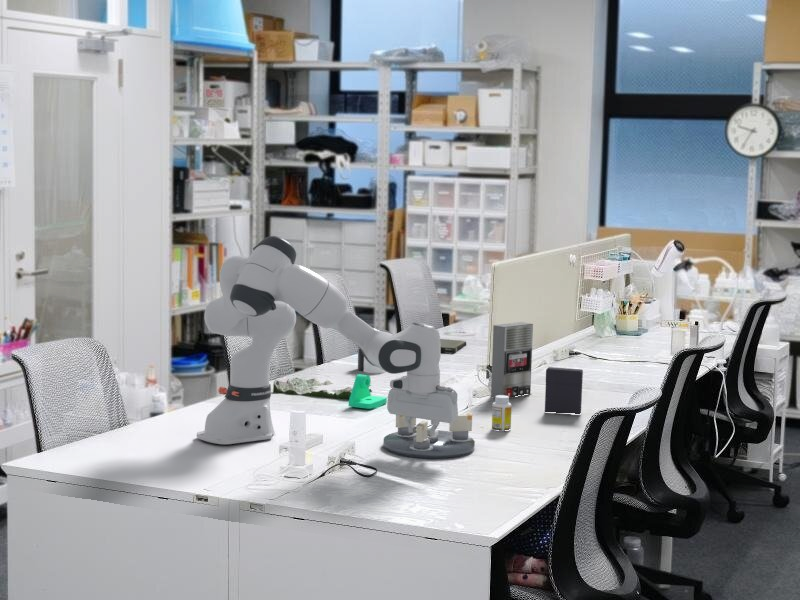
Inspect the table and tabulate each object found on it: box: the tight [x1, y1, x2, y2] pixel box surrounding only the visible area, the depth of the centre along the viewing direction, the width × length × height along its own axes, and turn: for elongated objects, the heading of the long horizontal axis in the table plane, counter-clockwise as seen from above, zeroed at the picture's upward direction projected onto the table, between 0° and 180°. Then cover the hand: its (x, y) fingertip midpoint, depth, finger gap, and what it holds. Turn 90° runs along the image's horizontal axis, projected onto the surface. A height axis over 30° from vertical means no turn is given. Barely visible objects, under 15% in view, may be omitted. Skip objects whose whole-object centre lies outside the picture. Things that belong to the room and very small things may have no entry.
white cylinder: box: [363, 357, 386, 374], centre depth 428 cm, size 9×9×12 cm
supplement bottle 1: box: [357, 347, 364, 372], centre depth 431 cm, size 7×7×12 cm
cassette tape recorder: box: [490, 321, 534, 399], centre depth 389 cm, size 14×6×25 cm, turn 131°
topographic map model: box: [272, 377, 373, 401], centre depth 402 cm, size 36×29×5 cm
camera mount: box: [348, 373, 388, 410], centre depth 373 cm, size 12×8×10 cm, turn 153°
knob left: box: [413, 420, 430, 449], centre depth 314 cm, size 6×4×6 cm
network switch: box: [440, 338, 467, 355], centre depth 478 cm, size 23×24×5 cm
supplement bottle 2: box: [491, 395, 512, 431], centre depth 345 cm, size 6×6×10 cm
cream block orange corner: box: [395, 415, 417, 435], centre depth 329 cm, size 6×4×6 cm
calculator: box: [544, 366, 584, 414], centre depth 366 cm, size 11×4×15 cm, turn 74°
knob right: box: [448, 413, 473, 440], centre depth 325 cm, size 6×4×6 cm
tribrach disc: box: [382, 427, 475, 460], centre depth 323 cm, size 25×25×5 cm
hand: (421, 434), depth 314 cm, fingers open, 4 cm apart
